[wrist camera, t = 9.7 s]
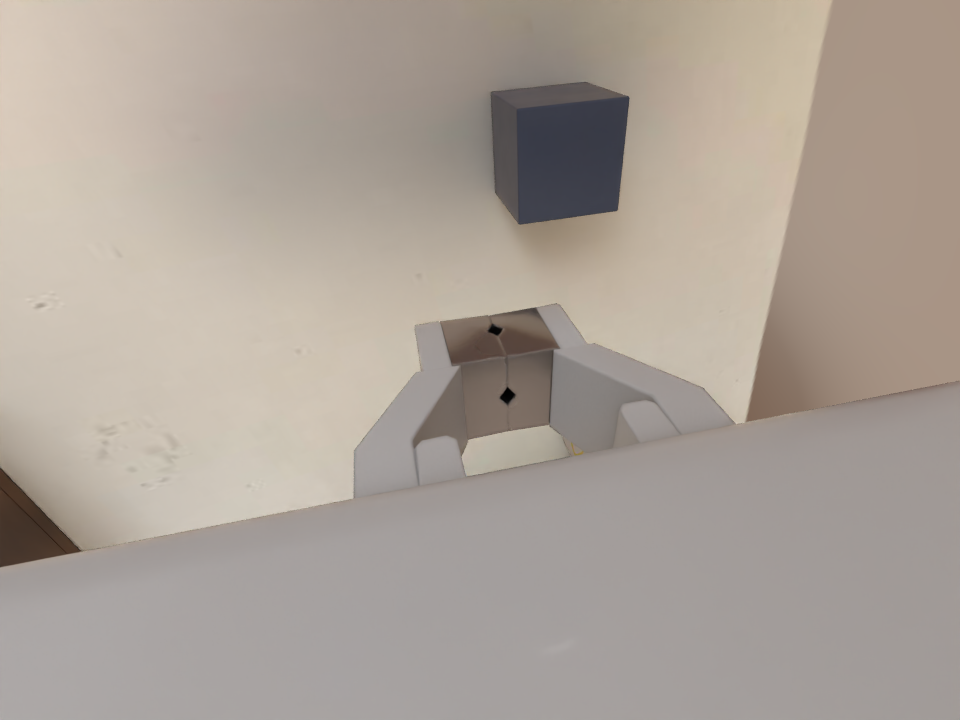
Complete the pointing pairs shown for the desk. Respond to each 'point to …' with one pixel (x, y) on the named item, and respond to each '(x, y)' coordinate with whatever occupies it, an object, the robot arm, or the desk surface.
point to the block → (558, 150)
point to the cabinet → (26, 529)
